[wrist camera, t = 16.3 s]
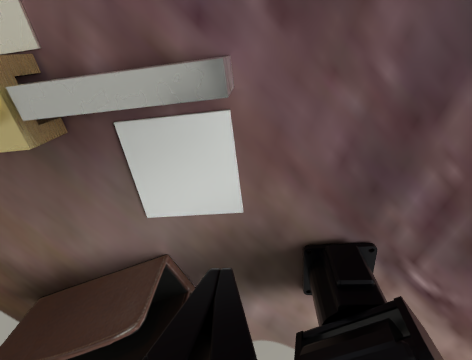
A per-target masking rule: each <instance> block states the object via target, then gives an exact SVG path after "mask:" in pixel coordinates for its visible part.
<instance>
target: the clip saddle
mask: <svg viewBox="0 0 472 360" xmlns="http://www.w3.org/2000/svg"><path fill="white" fill-rule="evenodd" d="M35 73H41V72H40V70H39V67H38V65H37V63H36V61H35V59H34V56H33V54H15V55H0V152H10V151H20V150H30V149H32V148H35V147H37V146H39V145H41V144H43V143H46V142H48V141H50V140H52V139H54V138H57V137H59V136H61V135H63V134H65V133H68V132H67V130H66V128H65V125H64V123H63V121H62V119H61V117H60V118H51V119H42V120H36V119H35V120H26V121H23V119H22V118H21V116H20V114H19V112H18V110H17V108H16V106H15V104H14V102H13V100H12V99H11V97H10V95H9V93H8V91H7V89H6V87H10V86H16V85H18V83H17V81H16V79H15V77H14V76H20V75H27V74H35Z"/></svg>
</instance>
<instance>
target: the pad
mask: <svg viewBox="0 0 472 360" xmlns="http://www.w3.org/2000/svg"><path fill="white" fill-rule="evenodd" d="M114 125H115V128H116V131H117V133H118V136H119V139H120V142H121V145H122V148H123V150H124V153H125V156H126V159H127V162H128V164H129V167H130V170H131V173H132V176H133V179H134V181H135V184H136V187H137V190H138V193H139V195H140V198H141V201H142V204H143V207H144V209H145V212H146V215H147V218H151V217H169V216H188V215H206V214H225V213H243V204H242V197H241V189H240V182H239V174H238V166H237V159H236V151H235V144H234V136H233V128H232V121H231V113H230V110H220V111H211V112H202V113H193V114H183V115H174V116H165V117H155V118H146V119H137V120H127V121H118V122H114Z"/></svg>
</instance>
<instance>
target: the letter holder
mask: <svg viewBox="0 0 472 360" xmlns="http://www.w3.org/2000/svg"><path fill="white" fill-rule="evenodd" d="M194 289H195V287H194V286H193V285H192V283H191V282H190V281H189V280H188V279H187V277H186V276H185V275H184V274H183V272H182V271H181V270H180V269H179V268H178V266H177V265H176V264H175V263H174V261H173V260H172V259H171V258H170V256H169V255H164V256H162V257H159V258H155V259H153V260H150V261H147V262H144V263H141V264H138V265H135V266H132V267H130V268H126V269H124V270H121V271H118V272H115V273H112V274H109V275H106V276H103V277H100V278H97V279H94V280H91V281H88V282H85V283H83V284H79V285H77V286H73V287H71V288H68V289H65V290H62V291H59V292H57V293H54V294H51V295H48V296H45V297H42V298H40V299H39V300H38V301H37V302H36V303H35V305H34V306H33V307H32V308H31V309H30V311H29V312H28V313H27V314H26V316H25V317H24V318H23V319H22V320H21V322H20V323H19V324H18V325H17V327H16V328H15V329H14V330H13V331H12V333H11V334H10V335H9V336H8V338H7V339H6V340H5V342H4V343H3V344H2V345H1V346H0V360H142V359H143V358H144V357H145V356H147V353H148V352H149V350H150V349H151V347H152V346H153V345H154V343H155V342H156V341H157V339H158V338H159V337H160V335H161V334H162V333H163V331H164V330H165V329H166V327H167V326H168V324H169V323H170V322H171V320H172V319H173V318H174V316H175V315H176V314H177V312H178V311H179V310H180V308H181V307H182V306H183V304H184V303H185V302H186V300H187V299H188V297H189V296H190V295H191V293H192V292H193V291H194Z"/></svg>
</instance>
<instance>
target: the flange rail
mask: <svg viewBox="0 0 472 360" xmlns="http://www.w3.org/2000/svg"><path fill="white" fill-rule="evenodd" d="M40 48H41V47H40V44H39V42H38V40H37V38H36V35H35V33H34V31H33V28H32V26H31V24H30V21H29V19H28V17H27V14H26V12H25V10H24V7H23V5H22V3H21V0H0V55H1V54H8V53H14V52H21V51H27V50H34V49H40ZM233 88H234V81H233V72H232V64H231V56H222V57H215V58H207V59H200V60H193V61H185V62H178V63H170V64H163V65H156V66H148V67H141V68H134V69H126V70H119V71H111V72H104V73H97V74H89V75H82V76H74V77H67V78H60V79H52V80H45V81H37V82H30V83H23V84H18V85H16V86H10V87H6V89H7V91H8V93H9V95H10V97H11V99H12V100H13V102H14V104H15V106H16V108H17V110H18V112H19V114H20V116H21V118H22V119H23V121H26V120H35V119H44V118H53V117H62V116H70V115H79V114H88V113H97V112H106V111H114V110H123V109H132V108H141V107H149V106H158V105H167V104H176V103H185V102H193V101H202V100H211V99H220V98H228V97H229V95H230V94H231V92H232V90H233Z"/></svg>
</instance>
